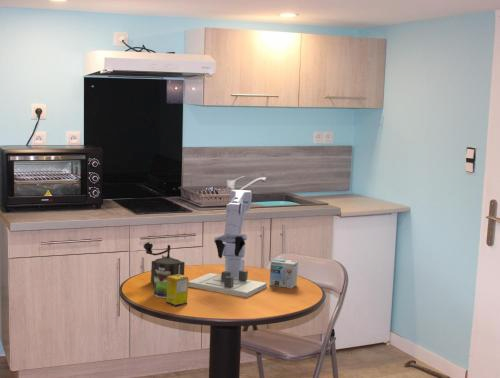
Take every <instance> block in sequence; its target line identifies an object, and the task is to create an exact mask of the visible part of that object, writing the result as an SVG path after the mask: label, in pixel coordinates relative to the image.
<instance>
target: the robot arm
mask: <svg viewBox="0 0 500 378" xmlns="http://www.w3.org/2000/svg"><path fill="white" fill-rule="evenodd" d="M252 199H253V195H252V191H251V190H250V189H249V190H242V189H231V190H230V193H229V203H227V204H226V208H225V209H226V210H225V212H226V214H225V218H226V219H225V225H224V226H225V227H224V234H222V235H220V236H217V237H214V238H213V243H214V244H215V246H216V250H217V256H218V258H219V259H222V257H224V259H225V260H224V263H225V264H224V271H226V272H230V276H231V277H235V278H239V271H240V270H244V271H245V259H244V258H245V255H246V241H247V239H248V235H247V234H246V233H242V230H243V224H244V218H245V215H246V213H247V211H249V210H250V208H251V205H252Z"/></svg>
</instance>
